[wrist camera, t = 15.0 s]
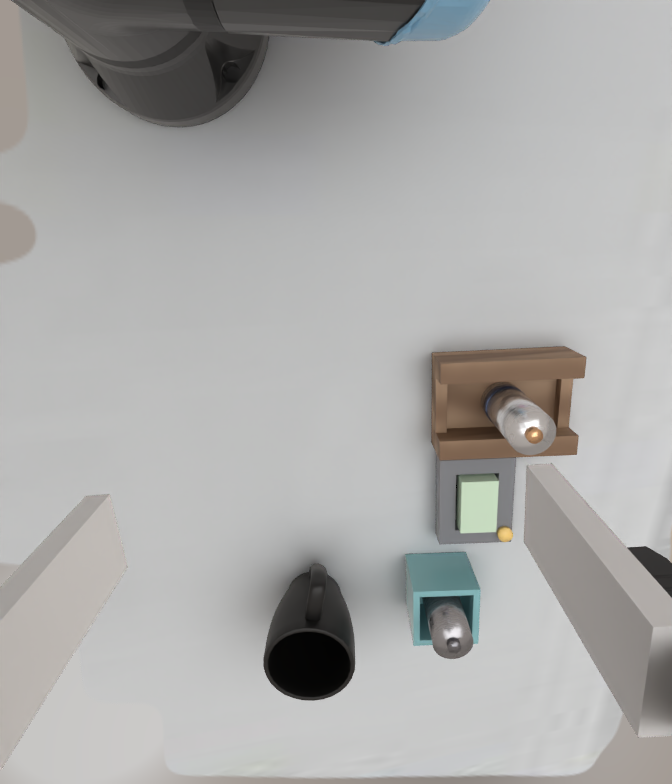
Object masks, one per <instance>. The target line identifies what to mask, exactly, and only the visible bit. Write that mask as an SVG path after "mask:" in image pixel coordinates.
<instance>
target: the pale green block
mask: <svg viewBox="0 0 672 784" xmlns="http://www.w3.org/2000/svg"><path fill="white" fill-rule="evenodd" d="M498 488H499V480H498V479H497V477H496V476H495V474H494V473H488V474H464V475H457V515H456V524H457V526H458V529H459V531H460V533H484V532H496V528H497V508H498Z"/></svg>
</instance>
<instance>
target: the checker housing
mask: <svg viewBox="0 0 672 784" xmlns="http://www.w3.org/2000/svg"><path fill="white" fill-rule="evenodd" d="M515 467H516V457H510V458H486V459H462V460H439V458H438V456H436V535H437V538H438V542H439V544H462V543H488V542H511V539H512V537H513V533H512V516H513V500H514V483H515ZM488 473H494V474H495V476H496V477H497V479H498V480H499V488H498V508H497V528H496V532H484V533H460V531H459V529H458V526H457V524H456V519H455V508H456V475H464V474H488Z"/></svg>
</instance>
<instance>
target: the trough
mask: <svg viewBox="0 0 672 784" xmlns="http://www.w3.org/2000/svg"><path fill="white" fill-rule="evenodd" d="M585 366H586V357H585V356H583V355H581V354H579V353H577V352H575V351H573V350H571V349H569V348H567V347H565V346H563V347H542V348H520V349H499V350H478V351H456V352H435V353H432V432H431V442H432V444H433V447H434V449H435V451H436V453H437V456H438V458H439V460H462V459H486V458H510V457H534V456H557V455H577V446H578V435H577V434H576V433H575V432H574V431H572V430H571V429H570V428H569V417H570V407H571V396H572V385H573V379H575V378H584V376H585ZM496 382H509V383H511V384H513V385H514V386H516V387H517V388H519V389H520V390H521V391H522V392H523V393H524V394H525V395H526V396H527V397H528V398H529V399H530V400H532V401H533V402H534V403H535V404H536V405H537V406H538V407H540V408H541V409H542V410H543V411H544V412H545V413H546V414H548V415H549V416H550V417H551V418H552V419H553V421H554V423H555V425H556V436H555V439H554V441H553V443H552V444H551V446H550V447H549V448H548V449H546V450H545V451H543V452H541V453H539V454H536V455H524V454H521V453H519V452H517V451H516V450H515V449H514V448H513V447H512V446H511V445H510V444H509V442H508V441H507V440H506V439H505V437H504V436H503V435H502V434H501V432H500V431H499V430H498V429H497V427H496V426H495V425H494V424H493V423H492V422H491V421H490V420H489V418H488V417H487V416H486V414H485V412H484V411H483V409H482V406H481V398H482V395H483V393H484V391H485V390H486V389H487V388H488V387H489V386H490V385H492V384H494V383H496Z"/></svg>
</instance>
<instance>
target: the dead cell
mask: <svg viewBox="0 0 672 784" xmlns="http://www.w3.org/2000/svg"><path fill="white" fill-rule="evenodd" d="M422 599H423V604H424V608H425V613H426V617H427V621H428V626H429V630H430V635H431V639H432V644H433V648H434V650H435V651H436V653H437V654H438V655H440V656H442V657H444V658H448V659H456V658H460V657H462V656H464V655H466V654H467V653H468V652H469V651H470V650H471V649H472V646H473V637H472V633H471V630H470V627H469V624H468V621H467V618H466V615H465V612H464V609H463V606H462V603H461V600H460V597H459V596H437V597H422Z"/></svg>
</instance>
